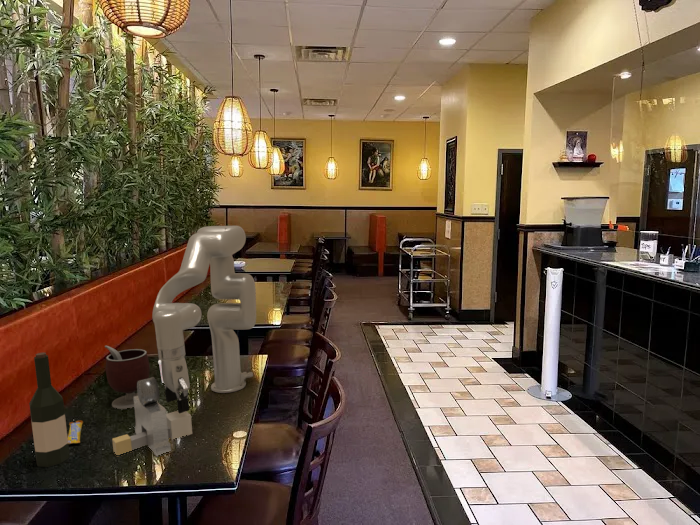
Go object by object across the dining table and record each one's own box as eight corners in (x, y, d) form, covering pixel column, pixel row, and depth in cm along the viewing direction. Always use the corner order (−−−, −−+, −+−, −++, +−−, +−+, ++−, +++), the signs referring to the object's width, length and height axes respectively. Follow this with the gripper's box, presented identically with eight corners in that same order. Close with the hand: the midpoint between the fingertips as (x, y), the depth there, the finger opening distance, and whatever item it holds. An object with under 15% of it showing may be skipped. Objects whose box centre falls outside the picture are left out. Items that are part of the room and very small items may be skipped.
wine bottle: (45, 470, 135) (32, 360, 131) (29, 462, 139) (16, 356, 135) (76, 456, 142) (64, 351, 138) (60, 449, 146) (48, 347, 142)
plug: (184, 427, 158) (183, 408, 157) (192, 433, 153) (190, 414, 152) (112, 450, 144) (110, 430, 144) (118, 458, 140) (116, 437, 139)
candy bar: (69, 426, 162) (68, 421, 162) (84, 424, 164) (83, 418, 164) (63, 449, 147) (63, 443, 147) (80, 446, 149) (79, 440, 148)
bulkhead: (148, 429, 157) (143, 369, 155) (171, 451, 142) (165, 386, 140) (135, 433, 155) (129, 372, 152) (156, 456, 140) (150, 390, 138)
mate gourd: (160, 395, 184) (155, 341, 182) (134, 411, 171) (129, 353, 168) (124, 392, 188) (119, 339, 186) (96, 407, 175) (90, 351, 173)
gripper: (195, 355, 146) (201, 411, 149) (173, 341, 159) (179, 393, 162) (169, 362, 141) (176, 420, 144) (148, 347, 155) (155, 400, 158)
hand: (177, 406), depth 153 cm, fingers open, 9 cm apart
